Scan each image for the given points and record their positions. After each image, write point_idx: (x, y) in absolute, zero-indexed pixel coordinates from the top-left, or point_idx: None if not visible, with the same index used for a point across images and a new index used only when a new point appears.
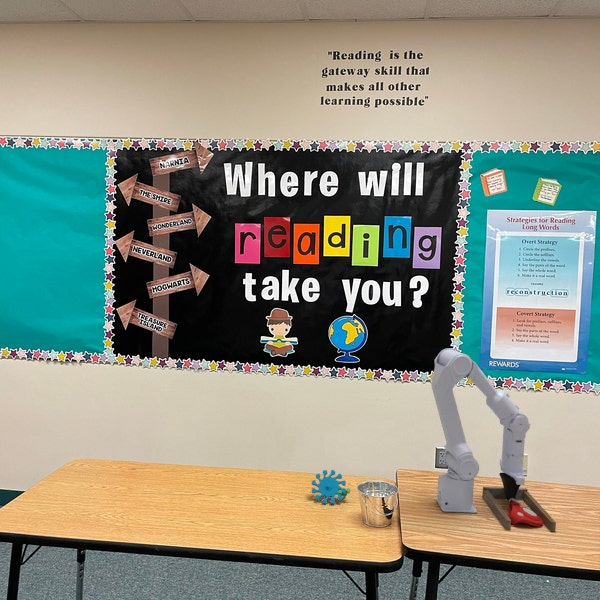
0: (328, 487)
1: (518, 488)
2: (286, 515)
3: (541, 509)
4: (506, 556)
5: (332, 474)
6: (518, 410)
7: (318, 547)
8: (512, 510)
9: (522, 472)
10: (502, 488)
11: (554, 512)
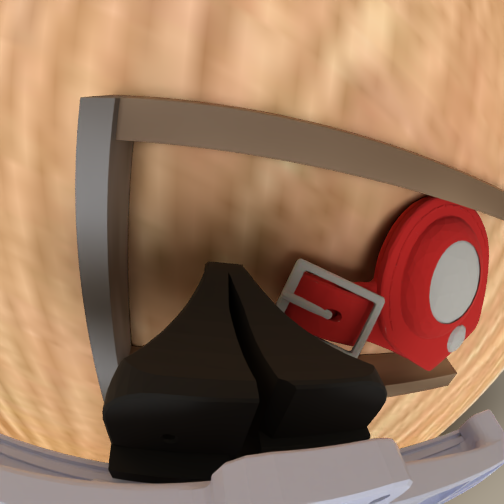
0: None
1: (299, 327)
2: None
3: (463, 194)
4: (492, 376)
5: None
6: None
7: None
8: (431, 369)
9: (428, 490)
10: (106, 320)
11: (373, 24)
